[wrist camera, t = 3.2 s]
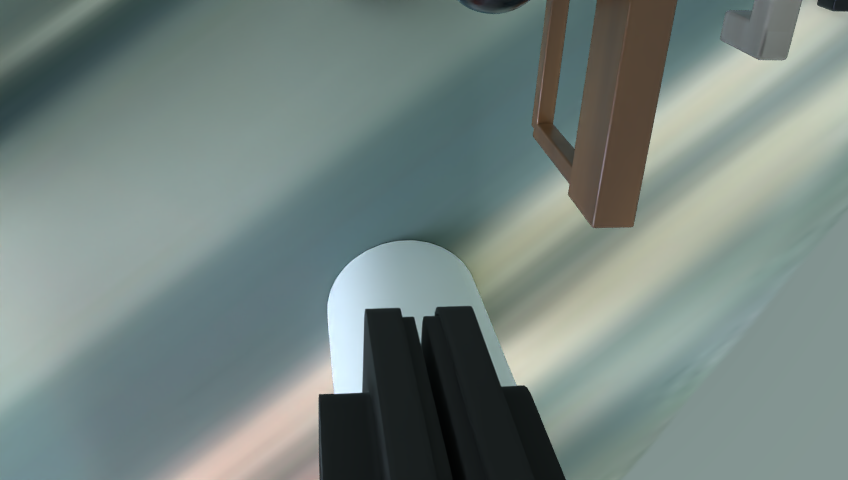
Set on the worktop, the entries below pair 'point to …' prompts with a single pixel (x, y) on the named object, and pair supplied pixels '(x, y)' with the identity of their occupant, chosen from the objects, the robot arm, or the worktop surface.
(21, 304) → the worktop surface
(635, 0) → the brown clothes hanger
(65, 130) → the worktop surface
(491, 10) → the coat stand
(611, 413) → the worktop surface
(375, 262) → the cylindrical container
